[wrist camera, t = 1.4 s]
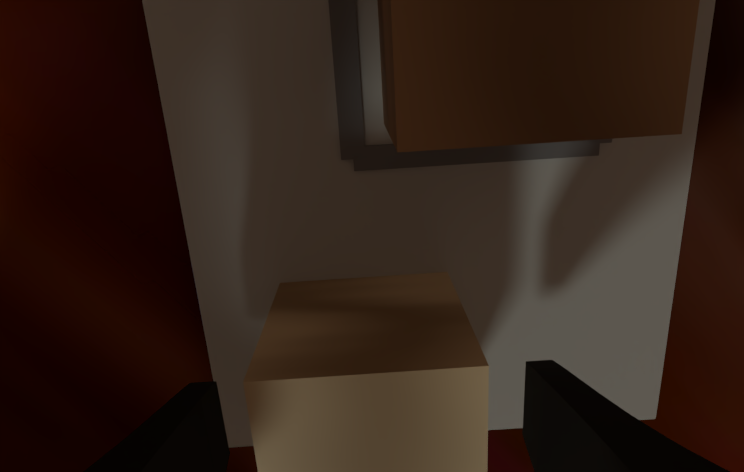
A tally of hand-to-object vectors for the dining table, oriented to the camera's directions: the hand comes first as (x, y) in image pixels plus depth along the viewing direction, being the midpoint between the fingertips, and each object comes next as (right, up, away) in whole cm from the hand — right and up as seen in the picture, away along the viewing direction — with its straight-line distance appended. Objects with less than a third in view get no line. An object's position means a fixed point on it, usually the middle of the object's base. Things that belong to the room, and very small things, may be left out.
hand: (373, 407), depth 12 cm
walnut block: (+2, +9, 0) cm, 9 cm away
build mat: (+2, +6, +1) cm, 6 cm away
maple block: (0, +1, +2) cm, 3 cm away
